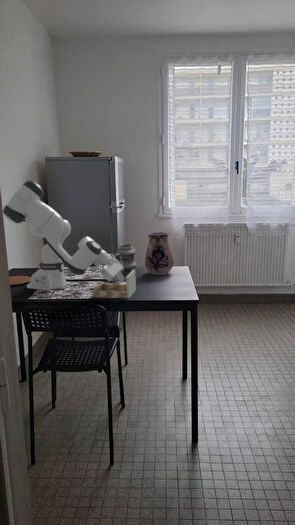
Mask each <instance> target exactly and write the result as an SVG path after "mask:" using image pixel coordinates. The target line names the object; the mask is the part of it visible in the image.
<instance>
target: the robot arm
mask: <svg viewBox="0 0 295 525" xmlns="http://www.w3.org/2000/svg"><path fill="white" fill-rule="evenodd" d="M43 196H44V190H43V189H42V187H41V185H40V184H39V183H37V182H36V181H33V180H27V181H25V182H24V183H22V186H20V187H19V188H18V189H17V190H16V191H15V192H14V194H13V195H12V196H11V198H10V199H9V201H8V202H7V204H6V205H4V208H3V210H2V213H3V215H4V216H5V218H6V219H7V220H8V221H10V222H11V223H14V224H21V223H23V222H25V223H26V222H27V223H28V229H27V230H28V232H29V233H30V235H32V236H34V237H37V238H44V241H45V243H46V244H45V245H43V246H42V247H41V259H42V261H41V262H40V263H39V264H38V267H39V269H38V270H37V271H35V272H34V273H33V274H32V275H31V278H30V282H29V283H28V284H27V285H26V288H27V289H32V290H33V289H34V290H41V291H51V290H56V289H61V288H64V287H66V286H67V285H68V283H67V280H66V277H65V272H64V269H65V268H64V267H65V266H66V268H68V270H69V271H70V273H71V274H73V275H74V276H75V275H76V276H81V275H84V274H85V273H86V272H87V270H88V269H89V268H90V267H91V265H93V264H94V266H96V267H97V268H98V270H99V273H100V274H101V275H102V277H103V278H104V279H105V280H106V281H107V282H112V281H111V280H112V279H113V278H115V279H117V280H119V281H118V282H120V283H123V282H124V281H126V277H124V275H123V276H122V274H121V273H120V271H121V270H122V269H123V266H122V264H121V263H120V262H119V261H118V260H117V259H116V258H115V256H114V255H113V254H112V253H108V252H107V251H106V250H103V248H102V247H101V245H100V244H99V243H98V242H97V241H95V240H94V239H93V238H91V237H89V236H84V237H82V238H81V239H80V240H79V241H78V244H77V247H78V250H77V251H76V252H75V253H74V254H73V255H70V254H69V253H68V252H67V251H66V250H65V248H64V247H63V244H64V241H66V240H65V239H66V238H68V237H69V235H70V233H71V229H72V227H71V224H70V222H69V220H67V219H65V218H64V219H63V217H62V215H61V214H59V213H58V212H57V211H56V210H55V209H54V208H52V207H51V206H50V205H48V204H46V202H44V201H42V198H43ZM64 264H65V265H64Z"/></svg>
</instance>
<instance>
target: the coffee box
mask: <svg viewBox="0 0 295 525" xmlns="http://www.w3.org/2000/svg"><path fill="white" fill-rule="evenodd" d="M111 254H113V255H114V256H115V258H116V259H117V260H118V261H119V262H120V263H121V264H122V266H123V260H122V253H117V252H111ZM120 273H121V274H122V276H123V277H124V275H123V269H122V270H121V271H120ZM110 282H120V281H119V280H117V279H115V278H113V279H112V280H111V281H110Z"/></svg>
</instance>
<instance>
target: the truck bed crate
mask: <svg viewBox="0 0 295 525" xmlns="http://www.w3.org/2000/svg"><path fill="white" fill-rule="evenodd" d="M91 293H92V294H91V295H92V297H93V298H111V299H112V298H113V299H114V298H115V299H128V298H127V286H126V283H105V282H103V283H102V282H100V284H98V285H97V286H96V287H94V289H92V290H91Z"/></svg>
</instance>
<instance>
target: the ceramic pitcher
mask: <svg viewBox="0 0 295 525" xmlns="http://www.w3.org/2000/svg"><path fill="white" fill-rule="evenodd" d="M169 235H170V234H169V233H166V232H162V231H160V232H151V233H148V234H147V236H148V238H149V240H148V245H147V250H146V252H145V258H144V265H145V267H146V268H145V269H146V270H147V272H149V273H150V274H152V275H154V276H164V275H167V274H169V273H170V272H171V270H172V269H173V266H174V256H173V254H172V250H171V246H170V245H169V241H168V238H169Z"/></svg>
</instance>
